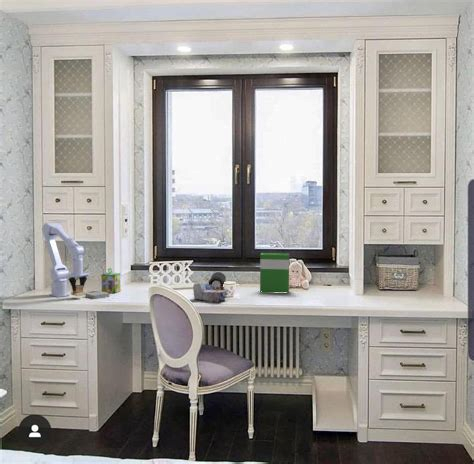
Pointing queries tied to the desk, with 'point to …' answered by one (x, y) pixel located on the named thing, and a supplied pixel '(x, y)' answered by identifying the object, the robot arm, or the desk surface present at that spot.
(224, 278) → the portable speaker
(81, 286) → the tan cardboard carton
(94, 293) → the dock
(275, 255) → the hardback book
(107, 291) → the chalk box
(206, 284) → the cell model
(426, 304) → the desk surface
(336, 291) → the desk surface
